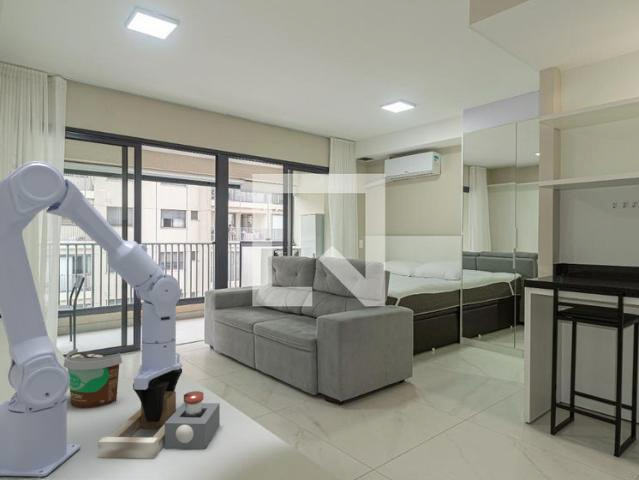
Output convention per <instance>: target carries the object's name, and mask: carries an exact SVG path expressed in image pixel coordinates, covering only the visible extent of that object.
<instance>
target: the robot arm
mask: <svg viewBox="0 0 639 480" xmlns="http://www.w3.org/2000/svg"><path fill="white" fill-rule="evenodd" d="M44 210H46V211H45V213H47V214H51V215H54V216H58V217H63V218H67V219H69V220H70V221H71V222H72V223H74V224H75V225H76V226H77V227H78V228H79V229H80V230H82V231H83V232H84V233H85V235H87V236H88V237H89V238H90V239H92V240H93V242H95V243H96V244H97V245H98V246H99V247H100V248H102V250H104V251H105V252H106V253H107V265H108V266H109V267H110V268H111V269H112V270H113V271H114V272H115V273H116V274H118V275H119V276H120V277H121V278H122V279H123V280H124V282H126V283H127V284H128V285H129V286H130V287H131V289H133V290H135V294H136V297H137V299H139V300H140V301H142V302H141V365H140V367H139V369H138V373H137V374H136V376H134V377H133V384H132V390H133V391H134V392H135V393H136V395H137V397H138V399H139V401H140V404H141V403H142V406H143V410H144V414H145V417H146V420H147V422H158V421H159V420H160V417H161V412H162V403H163V398H164V394H165V391H176V389H177V385H178V382H179V380H180V377H181V376H182V373H183V368H182V367H183V363H182V362H180V353H179V352H178V353H177V352H176V348H177V347H176V339H177V338H176V337H177V335H176V332H177V331H176V330H177V327H176V326H177V325H176V324H177V323H176V321H177V317H176V316H177V313H176V311H177V309H176V306H177V303H178V302H179V300H180V299H181V297H182V293H183V289H182V288H181V287H180V283H179V282H178V281H179V280H177V279H176V277H174V276H172V275H170V274H165V270H166V267H164V265H163V264H158V263H157V262H156V261H155V260H154V259H153V258H152V256H150V255H149V254H148V252H146V251H148V247H147V246H146V245H145V244H143V243H138V242H137V241H134V240H124V238H122V236H121V235H120V234H119V232H117V231H116V229H114V228H113V226H112V225H111V224H110V223H109V222H108V221H107V220H106V218H105V217H104V216H103V215H102V213H100V211H98V209H96V207H95V206H94V205H93V204H92V203H91V202H90V201H89V199H88V198H87V197H86V195H84V194H83V193H82V192H81V190H80V189H79V188H78V187H77V185H76V184H75V183H73V182H72V181H70V180H69V179H68V178H65V177H64V175H63V174H62V172H60V170H59V169H58V168H57V167H55V166H53V165H52V164H50V163H48V162H44V161H38V160H36V161H35V160H34V161H28V162H25V163H23V164H21V165H19V166H18V167H17V168H16V169H14V170H13V171H12V172H11V173H9V174H8V175H7V176H6V177H5V178H3V179H2V180H1V181H0V316H1V317H0V318H1V320H2V324H3V328H4V331H5V335H6V340H7V341H8V353H9V357H10V366H9V369H8V372H7V379H8V383H9V385H10V386H11V388H13V389H14V391H15V392H14V393H13V395H12V397H11V398H10V400H7V401H5V402H2V403H0V476H1V477H2V476H7V477H8V476H9V477H46V476H48V475H49V474H50V473H52V471H54V470H55V469H56V468H58V467H59V466H60V465H61V464H63V463H64V462H65V461H66V460H68V458H70V457H71V456H72V455H74V454H75V453H76V452H77V451H78V450H79V449H80V448H81V445H80V444H68V394H67V393H68V390H69V389H70V388H69V385H70V376H69V373H68V369H67V368H65V367H64V365H62V364H61V363H60V362H59V360H58V357H57V353H56V351H55V348H54V346H53V344H52V342H51V340H50V338H49V335H48V330H47V327H46V323H45V319H44V315H43V311H42V307H41V303H40V300H39V296H38V293H37V292H38V291H37V288H36V284H35V280H34V276H33V273H32V269H31V264H30V262H29V257H28V253H27V250H26V246H25V242H24V239H23V234H22V233H23V231H24V230H25V228H26V227H27V226H28V225H29V224H30V223H31V222H32V221H33V220H34V219H35V217H36V216H37V214H39V213H40V212H42V211H44Z"/></svg>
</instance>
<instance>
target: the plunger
mask: <svg viewBox="0 0 639 480" xmlns="http://www.w3.org/2000/svg"><path fill="white" fill-rule="evenodd" d="M204 395H205V394H204V392H203V391H199V390H195V391H194V390H193V391H189V392H186V393H185V394H184V395H183V403H184V402H185V403H186V417H200V418H201V416H202V403H203V402H202V401H204V399H205V398H204Z"/></svg>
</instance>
